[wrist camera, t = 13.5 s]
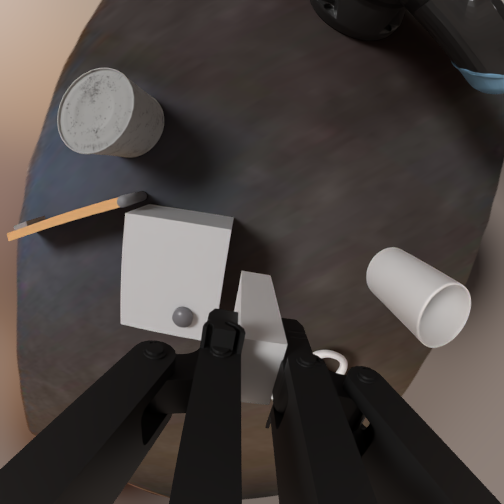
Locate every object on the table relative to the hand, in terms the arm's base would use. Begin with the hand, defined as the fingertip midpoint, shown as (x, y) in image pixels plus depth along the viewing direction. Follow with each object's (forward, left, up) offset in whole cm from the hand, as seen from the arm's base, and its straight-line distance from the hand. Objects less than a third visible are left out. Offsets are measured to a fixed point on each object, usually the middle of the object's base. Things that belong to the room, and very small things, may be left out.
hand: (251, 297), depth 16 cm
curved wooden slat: (+2, -24, -26) cm, 36 cm away
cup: (+4, +23, -26) cm, 35 cm away
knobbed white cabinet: (+7, -8, -26) cm, 28 cm away
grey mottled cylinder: (-11, -18, -26) cm, 34 cm away
